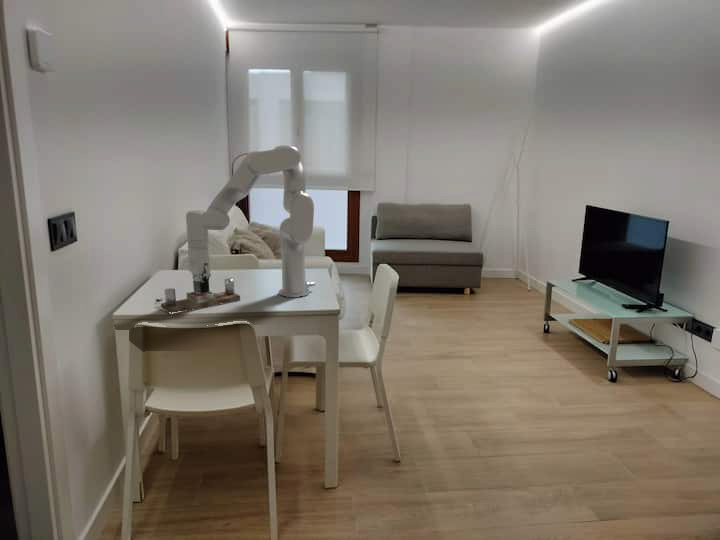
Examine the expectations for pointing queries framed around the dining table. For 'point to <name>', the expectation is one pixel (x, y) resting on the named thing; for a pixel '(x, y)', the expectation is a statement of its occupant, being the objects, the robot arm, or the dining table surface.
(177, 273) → the dining table surface
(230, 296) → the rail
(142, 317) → the dining table surface
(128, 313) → the dining table surface
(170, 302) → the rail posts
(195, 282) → the pill bottle
